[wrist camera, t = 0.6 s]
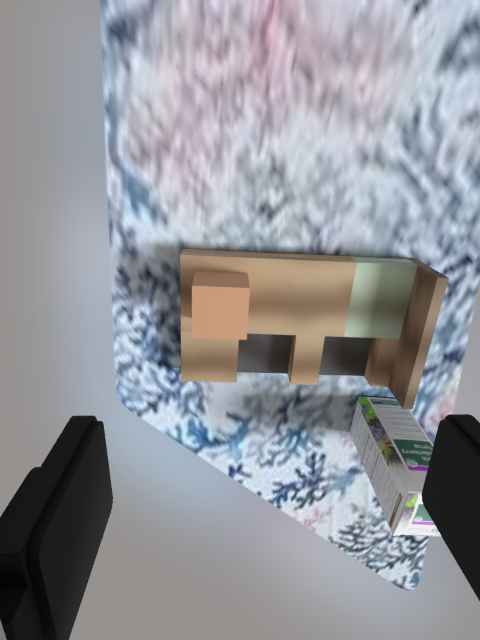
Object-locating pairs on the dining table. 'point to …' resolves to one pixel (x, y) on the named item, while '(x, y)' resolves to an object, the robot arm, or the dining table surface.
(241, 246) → the dining table surface
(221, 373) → the board
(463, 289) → the dining table surface
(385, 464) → the syrup box
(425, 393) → the dining table surface
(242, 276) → the orange block
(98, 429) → the robot arm
